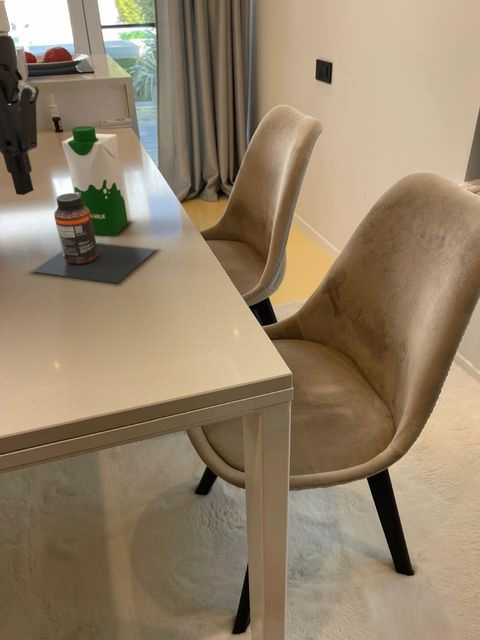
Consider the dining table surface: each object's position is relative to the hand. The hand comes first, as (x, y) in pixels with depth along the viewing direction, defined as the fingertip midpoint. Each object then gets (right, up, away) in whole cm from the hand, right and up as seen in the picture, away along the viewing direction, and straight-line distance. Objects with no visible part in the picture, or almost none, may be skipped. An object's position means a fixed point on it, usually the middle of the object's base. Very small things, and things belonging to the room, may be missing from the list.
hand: (25, 192), depth 96 cm
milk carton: (+9, -3, +17) cm, 20 cm away
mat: (+11, -12, +4) cm, 17 cm away
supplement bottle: (+9, -11, +4) cm, 15 cm away
